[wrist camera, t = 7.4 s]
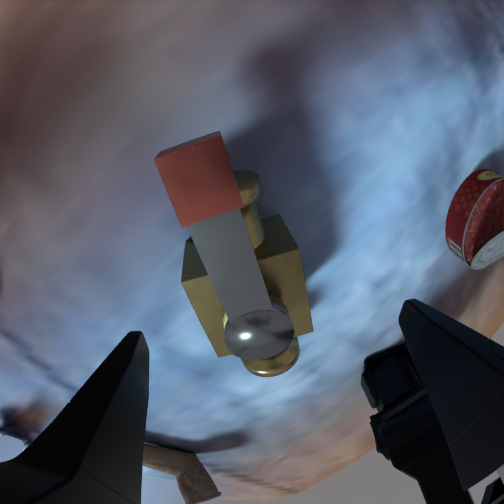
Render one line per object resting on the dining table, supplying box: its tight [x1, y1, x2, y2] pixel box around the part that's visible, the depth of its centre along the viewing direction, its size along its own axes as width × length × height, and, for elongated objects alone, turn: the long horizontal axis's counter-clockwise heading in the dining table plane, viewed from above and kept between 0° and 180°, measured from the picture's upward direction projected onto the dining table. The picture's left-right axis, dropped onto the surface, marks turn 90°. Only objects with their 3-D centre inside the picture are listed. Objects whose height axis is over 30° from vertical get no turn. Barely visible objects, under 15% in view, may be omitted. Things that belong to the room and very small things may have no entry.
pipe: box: [143, 443, 221, 504], centre depth 34 cm, size 6×17×10 cm, turn 53°
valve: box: [181, 171, 313, 377], centre depth 21 cm, size 7×15×6 cm, turn 14°
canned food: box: [445, 169, 504, 270], centre depth 21 cm, size 11×10×10 cm
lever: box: [154, 131, 294, 360], centre depth 15 cm, size 13×4×2 cm, turn 16°
